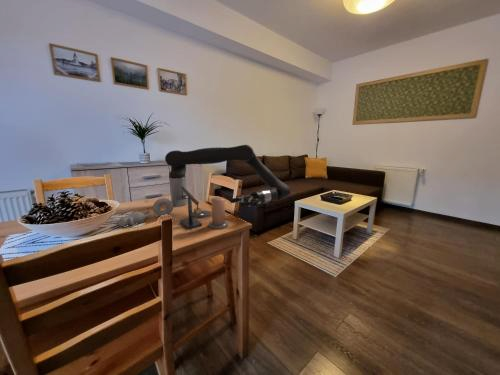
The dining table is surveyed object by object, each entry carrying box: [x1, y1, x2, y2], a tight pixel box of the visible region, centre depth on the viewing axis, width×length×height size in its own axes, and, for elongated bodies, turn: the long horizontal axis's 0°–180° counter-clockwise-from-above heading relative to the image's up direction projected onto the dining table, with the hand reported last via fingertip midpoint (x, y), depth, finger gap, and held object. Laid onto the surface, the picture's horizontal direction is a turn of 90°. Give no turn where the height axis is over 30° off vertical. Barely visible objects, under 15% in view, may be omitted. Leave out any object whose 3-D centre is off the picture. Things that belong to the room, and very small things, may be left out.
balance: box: [176, 187, 205, 231], centre depth 97 cm, size 23×7×17 cm, turn 38°
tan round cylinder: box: [211, 196, 226, 226], centre depth 97 cm, size 6×6×12 cm
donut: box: [152, 197, 174, 217], centre depth 108 cm, size 10×4×10 cm, turn 120°
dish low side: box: [208, 220, 229, 230], centre depth 98 cm, size 9×9×1 cm
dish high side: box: [196, 209, 212, 219], centre depth 112 cm, size 9×9×1 cm
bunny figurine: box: [116, 210, 155, 228], centre depth 101 cm, size 10×5×15 cm
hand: (236, 202), depth 102 cm, fingers open, 8 cm apart
